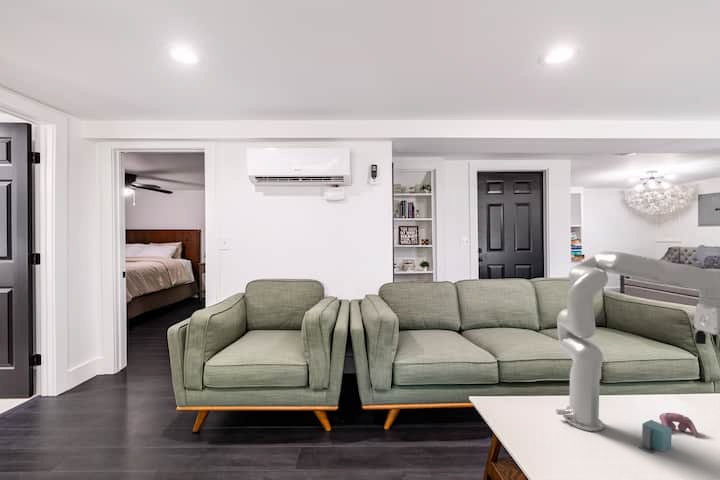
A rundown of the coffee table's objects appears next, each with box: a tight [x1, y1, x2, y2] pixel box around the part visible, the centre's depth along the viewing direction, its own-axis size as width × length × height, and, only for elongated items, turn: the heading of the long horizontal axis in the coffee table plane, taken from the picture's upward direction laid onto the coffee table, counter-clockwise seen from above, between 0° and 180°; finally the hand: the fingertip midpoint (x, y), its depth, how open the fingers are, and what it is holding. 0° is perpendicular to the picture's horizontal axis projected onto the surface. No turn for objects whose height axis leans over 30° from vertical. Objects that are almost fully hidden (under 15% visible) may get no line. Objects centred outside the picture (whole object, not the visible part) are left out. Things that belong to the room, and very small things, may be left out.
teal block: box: [641, 419, 673, 453], centre depth 117 cm, size 6×6×7 cm
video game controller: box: [659, 412, 699, 438], centre depth 126 cm, size 10×5×7 cm, turn 71°
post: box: [637, 427, 658, 455], centre depth 115 cm, size 4×4×7 cm
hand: (712, 347), depth 126 cm, fingers open, 9 cm apart
